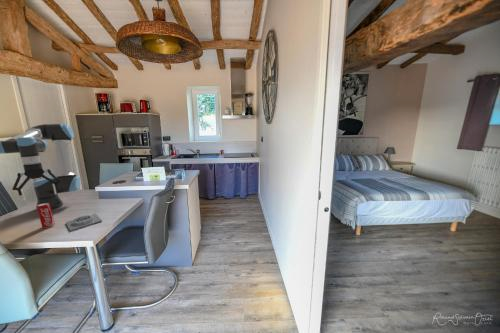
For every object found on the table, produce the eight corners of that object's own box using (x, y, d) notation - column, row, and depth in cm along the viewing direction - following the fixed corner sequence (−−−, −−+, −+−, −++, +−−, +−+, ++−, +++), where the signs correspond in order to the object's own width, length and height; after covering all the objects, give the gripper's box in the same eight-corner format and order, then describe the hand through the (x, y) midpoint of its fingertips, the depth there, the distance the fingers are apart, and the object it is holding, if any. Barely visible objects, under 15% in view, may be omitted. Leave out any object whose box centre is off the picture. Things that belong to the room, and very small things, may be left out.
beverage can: (44, 229, 126) (37, 207, 122) (40, 227, 129) (34, 205, 126) (56, 225, 131) (51, 203, 127) (53, 223, 134) (47, 201, 131)
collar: (72, 221, 133) (71, 219, 133) (91, 216, 141) (91, 213, 140) (75, 226, 126) (74, 224, 126) (95, 220, 134) (95, 218, 133)
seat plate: (66, 223, 133) (65, 222, 133) (95, 214, 145) (95, 213, 144) (70, 231, 123) (70, 230, 122) (101, 221, 134) (101, 220, 134)
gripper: (-2, 167, 109) (9, 204, 114) (61, 160, 127) (68, 192, 132) (-1, 166, 114) (10, 201, 119) (59, 159, 132) (66, 190, 137)
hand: (40, 197), depth 125 cm, fingers open, 13 cm apart
